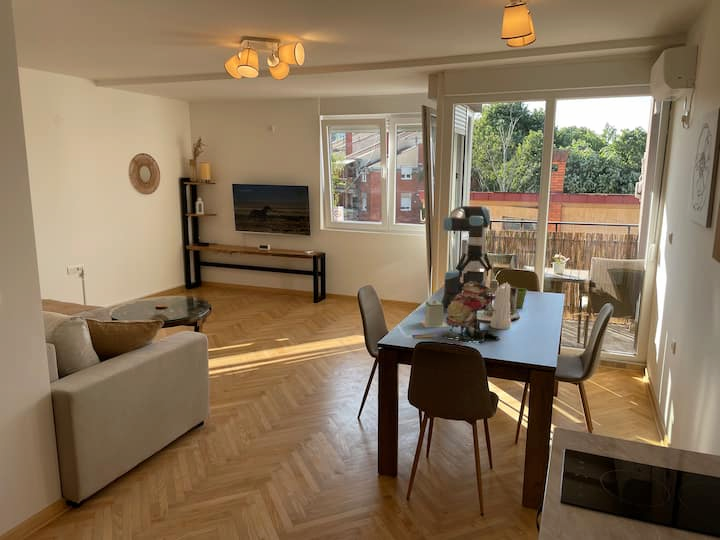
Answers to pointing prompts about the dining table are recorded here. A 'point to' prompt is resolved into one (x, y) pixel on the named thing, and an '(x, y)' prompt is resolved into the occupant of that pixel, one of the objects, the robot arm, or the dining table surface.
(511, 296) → the coffee box
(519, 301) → the plant pot
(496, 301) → the decorative vase
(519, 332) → the dining table surface
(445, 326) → the cream plate
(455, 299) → the rose bouquet
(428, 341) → the dining table surface
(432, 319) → the sage cover
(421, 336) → the tan mat
